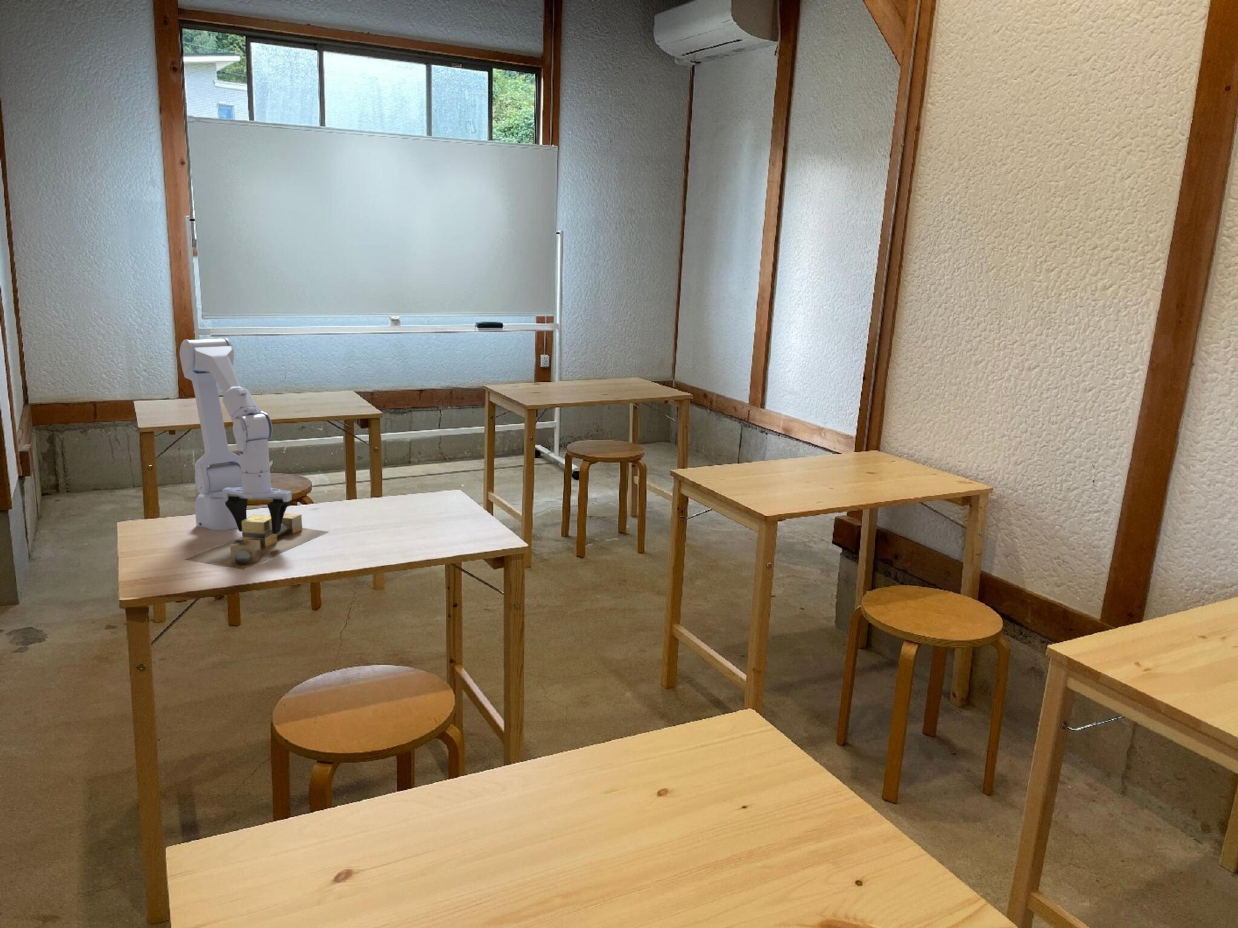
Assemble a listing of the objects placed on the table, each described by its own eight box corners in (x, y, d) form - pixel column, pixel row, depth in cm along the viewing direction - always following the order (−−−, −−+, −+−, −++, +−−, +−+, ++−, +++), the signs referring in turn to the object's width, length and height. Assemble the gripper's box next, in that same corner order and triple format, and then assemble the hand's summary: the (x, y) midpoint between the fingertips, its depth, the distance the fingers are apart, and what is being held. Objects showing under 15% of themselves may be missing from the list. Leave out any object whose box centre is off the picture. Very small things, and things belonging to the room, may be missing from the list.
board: (185, 564, 182) (184, 559, 182) (275, 528, 207) (275, 523, 206) (244, 574, 177) (243, 569, 177) (329, 536, 202) (329, 531, 202)
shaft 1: (243, 550, 188) (242, 533, 187) (266, 550, 188) (265, 533, 187) (229, 565, 179) (228, 547, 178) (254, 565, 179) (253, 547, 178)
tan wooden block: (243, 548, 189) (241, 521, 188) (255, 540, 194) (253, 514, 193) (265, 549, 189) (263, 522, 187) (277, 542, 194) (275, 515, 192)
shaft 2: (281, 540, 195) (280, 523, 194) (262, 538, 196) (261, 521, 195) (305, 528, 203) (304, 512, 203) (286, 526, 205) (285, 510, 204)
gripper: (212, 472, 185) (217, 535, 188) (278, 476, 183) (282, 539, 186) (230, 465, 192) (235, 525, 195) (294, 468, 190) (298, 529, 193)
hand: (259, 531), depth 191 cm, fingers open, 7 cm apart
